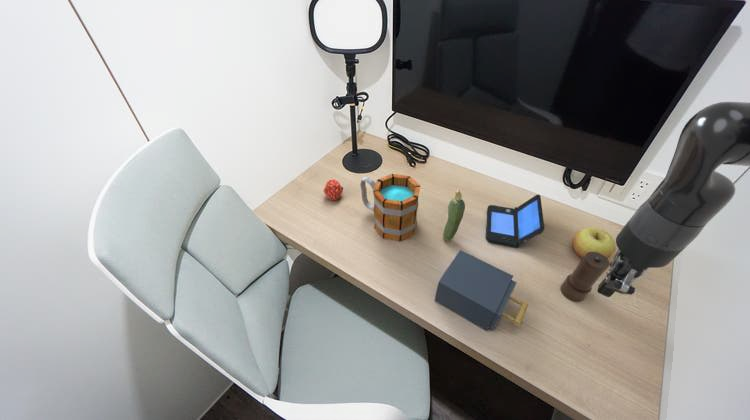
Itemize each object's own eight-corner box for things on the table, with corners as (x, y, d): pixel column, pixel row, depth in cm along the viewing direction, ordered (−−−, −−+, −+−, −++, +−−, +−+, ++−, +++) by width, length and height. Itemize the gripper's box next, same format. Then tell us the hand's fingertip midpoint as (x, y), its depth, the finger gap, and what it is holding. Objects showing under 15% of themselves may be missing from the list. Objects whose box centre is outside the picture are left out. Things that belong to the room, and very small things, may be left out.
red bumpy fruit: (327, 205, 108) (324, 185, 111) (346, 201, 108) (343, 181, 111) (322, 198, 102) (319, 177, 105) (342, 194, 102) (339, 173, 105)
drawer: (525, 306, 76) (535, 291, 72) (511, 340, 70) (520, 327, 66) (462, 273, 83) (466, 257, 79) (444, 301, 78) (448, 286, 73)
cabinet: (503, 295, 80) (513, 275, 74) (486, 331, 73) (495, 313, 67) (454, 269, 85) (460, 249, 79) (434, 300, 79) (438, 281, 73)
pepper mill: (589, 300, 78) (619, 265, 68) (568, 303, 78) (596, 269, 68) (575, 281, 82) (602, 246, 72) (555, 284, 82) (580, 249, 72)
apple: (567, 236, 93) (579, 217, 88) (604, 245, 90) (619, 226, 85) (568, 261, 87) (580, 242, 81) (608, 272, 84) (624, 253, 78)
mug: (425, 221, 99) (430, 184, 88) (402, 249, 91) (404, 212, 80) (375, 197, 107) (374, 161, 97) (349, 220, 99) (345, 184, 89)
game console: (486, 207, 103) (493, 185, 96) (530, 214, 100) (540, 192, 93) (485, 242, 92) (492, 220, 85) (533, 252, 89) (545, 230, 83)
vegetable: (448, 232, 95) (459, 180, 81) (459, 240, 93) (473, 189, 79) (438, 239, 93) (448, 188, 79) (449, 248, 91) (462, 196, 77)
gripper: (688, 272, 42) (621, 330, 54) (689, 215, 50) (630, 277, 62) (624, 247, 46) (574, 307, 58) (634, 197, 53) (588, 260, 65)
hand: (603, 291), depth 60 cm, fingers closed
